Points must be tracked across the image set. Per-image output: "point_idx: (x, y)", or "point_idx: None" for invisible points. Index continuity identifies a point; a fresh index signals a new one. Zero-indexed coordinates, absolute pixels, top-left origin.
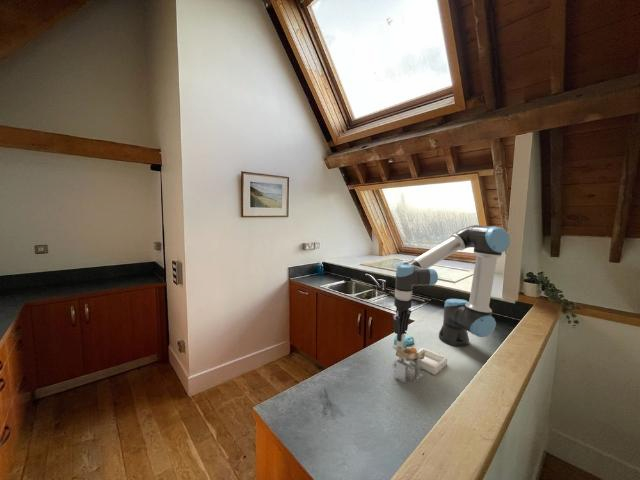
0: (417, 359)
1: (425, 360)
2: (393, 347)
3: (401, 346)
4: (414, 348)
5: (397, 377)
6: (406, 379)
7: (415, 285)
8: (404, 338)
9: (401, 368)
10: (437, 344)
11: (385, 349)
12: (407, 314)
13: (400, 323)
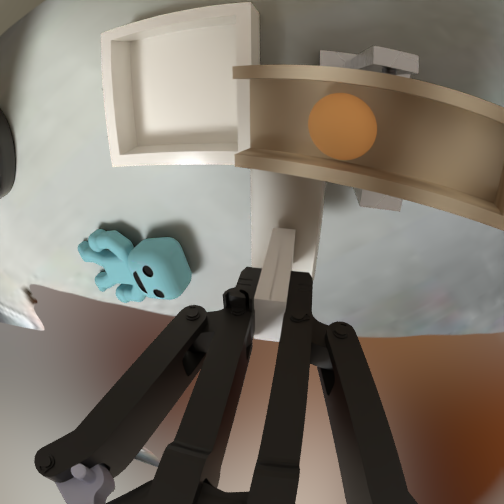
0: (399, 64)
1: (176, 107)
2: (314, 270)
3: (294, 238)
4: (345, 120)
5: None
6: None
7: None
8: (131, 269)
9: None
10: (36, 163)
11: None
12: (102, 461)
13: (299, 436)
